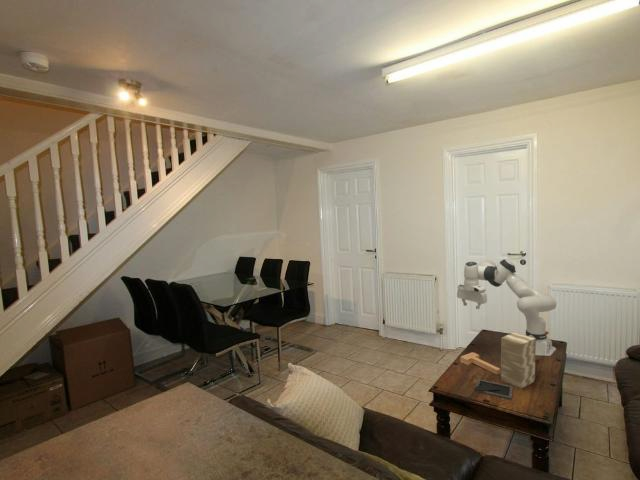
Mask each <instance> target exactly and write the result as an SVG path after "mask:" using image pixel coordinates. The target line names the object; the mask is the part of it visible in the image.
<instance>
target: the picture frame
mask: <svg viewBox="0 0 640 480" xmlns="http://www.w3.org/2000/svg"><path fill="white" fill-rule="evenodd" d="M513 390H514V386H513V385H510V384H509V385H508V384H503V383H499V382H494V381H490V380H489V381H488V380H486V379H485V380H484V379H481V378H480V379H479V378H477V381H476V385H475V387H474V392H475V393H479V394H484V395H488V396H493V397H496V398H497V397H498V398H502V399H504V400H505V399H506V400H509V401H512V399H513Z"/></svg>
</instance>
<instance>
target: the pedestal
mask: <svg viewBox="0 0 640 480" xmlns="http://www.w3.org/2000/svg"><path fill="white" fill-rule="evenodd" d="M535 350H536V338H533V337H530V336H526V334H524V333H520V332H516V331H515V332H512V333H510V334H509V333H508V334H507V335H504V336H501V339H500V381H502V382H505V383H507V384H509V385H510V386H513V387H516V388H518V389H521V390H522V389H524V388H526V387H528V386H529V385H531V384H532V383H534V382H536V381H535V380H536V378H535V358H536V355H535Z"/></svg>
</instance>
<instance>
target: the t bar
mask: <svg viewBox="0 0 640 480" xmlns="http://www.w3.org/2000/svg"><path fill="white" fill-rule="evenodd" d="M459 361H460V363H462V364H463V363H464V364H463V365H465V364H466V366H469V365H471V364H474V365H476V366H477V367H480V368H482V369H484V370H486V371H488V372H490V373H493V374H494V375H496V376H497V375H499V374H500V375H501V367H497V366H495V365H493V364H491V363H489V362H487V361H485V360H482V359H481V358H480V354H478V353H476V352H474V351H473V352H472V351H471V352H469V353H467V354H463V355H461V356H460V360H459Z"/></svg>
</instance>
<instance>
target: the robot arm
mask: <svg viewBox="0 0 640 480" xmlns="http://www.w3.org/2000/svg"><path fill="white" fill-rule="evenodd" d="M516 272H517V271H516V266H515V264H514V263H513V261H510V260H508V259H506V258H505V259H502V260H500V261H499V263H498V264H496V263H495V261H492V260H488V259H487V260H486V259H485V260H482V261H480V262H479V263H477V262H476V261H468V262H466V263H465V264H464V271H463V277H464V280H463V281H464V282H463V284H458V285H457V292H456V297H457V298H458V299H461V302H462V304H463V306H464V307H466V306H468V305H467V304H468V303H467V302H466V301H471V302H473V303H477V305H476V306H475V309H476V310H480V308H481V307H480V306H481V305H484V304H486V303H487V302H488V295H487V292H486V290H487V288H486V287H485V286H483V285H481V284H480V283H479V280H480V281H487V282H488V283H489V284H490V285H491V286H493V287H496V288H498V287H500V286H502V285H503V283H504V282H505V283H506V284H507V286H508V287H509V289H510V290H511V291H512V292H513V293H514V294H515V295H516V297H518V299H517V301H516V308H517V309H518V310H519V312H520V313H522V314H523V315H524V316H525V322H526V329H525V335H526V336H530V337H533V338H536V350H535V356H545V357H551V356H552V355H553V354H554V353H555V351H557V348H556V347H555V346H554V345H553V341H552V340H551V339H550V338H549V337H548V335H549V331H548V330H546V325H547V323H546V320H545V319H544V318H542V317H540V313H544V312H545V313H546V312H550V311H553V310H555V309H556V307H557V301H556V299H555V298H554V296H552V295H549V294H545V293H542V292H541V291H539V290H537V289H535V288H533V287H532V286H531V285H529V283H528V282H526V281H525V280H524V279H523V278H522V277H521V276H519V275H517V274H516Z"/></svg>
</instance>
